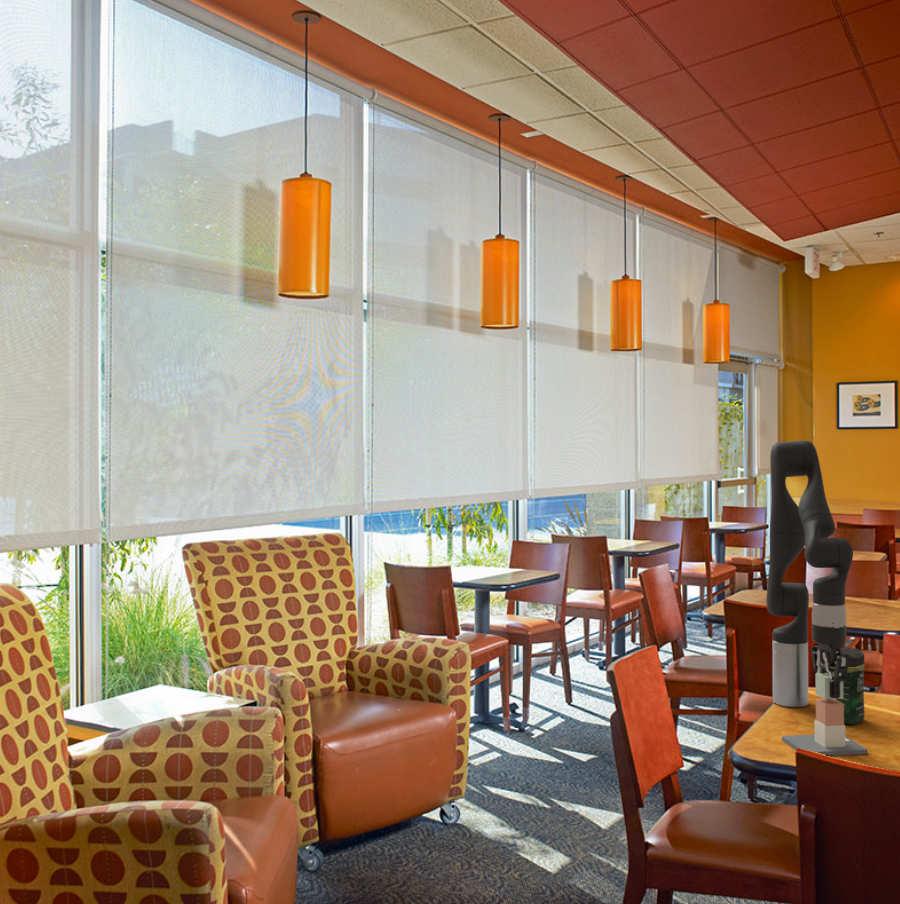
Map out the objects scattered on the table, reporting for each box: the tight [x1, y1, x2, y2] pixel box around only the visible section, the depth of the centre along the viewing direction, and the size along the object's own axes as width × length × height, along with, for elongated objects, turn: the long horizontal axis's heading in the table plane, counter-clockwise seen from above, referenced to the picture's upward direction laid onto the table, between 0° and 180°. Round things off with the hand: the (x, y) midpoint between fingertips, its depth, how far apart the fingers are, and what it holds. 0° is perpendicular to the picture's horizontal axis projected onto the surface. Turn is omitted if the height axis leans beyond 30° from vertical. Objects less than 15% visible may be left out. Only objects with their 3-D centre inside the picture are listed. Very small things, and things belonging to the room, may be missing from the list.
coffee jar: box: [832, 646, 866, 725], centre depth 240 cm, size 10×8×19 cm
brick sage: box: [815, 672, 843, 699], centre depth 219 cm, size 4×4×5 cm
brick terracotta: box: [815, 698, 845, 726], centre depth 219 cm, size 4×4×5 cm
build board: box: [781, 719, 869, 757], centre depth 220 cm, size 12×15×6 cm
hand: (829, 694), depth 219 cm, fingers closed on brick sage, 4 cm apart
